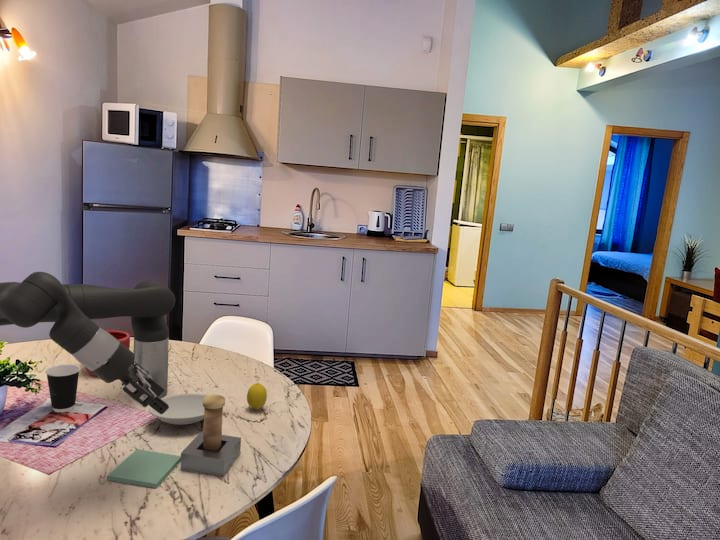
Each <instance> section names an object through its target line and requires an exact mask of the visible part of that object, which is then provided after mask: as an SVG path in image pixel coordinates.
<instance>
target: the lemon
mask: <svg viewBox="0 0 720 540" xmlns="http://www.w3.org/2000/svg"><path fill="white" fill-rule="evenodd" d="M267 392H268V391H267V388H266V387H265V386H264V385H263V384H261V383H259V382H256V383H254V384H252V385H251V386H250V387H249V388H248V390H247V394H246V401H247V403H248V405H249V407H250V408H253V409H254V410H258V409H261V408H262V407H263V406H265V404H266V402H267V399H268V394H267Z"/></svg>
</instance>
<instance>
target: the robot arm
mask: <svg viewBox="0 0 720 540" xmlns="http://www.w3.org/2000/svg"><path fill="white" fill-rule="evenodd" d="M175 304H176V296H175V294H174V292H173V291H172V290H171V289H170V288H169V287H168V286H165V285H164V284H162V283H159V282H157V281H154V280H143V281H140V282H138V283H137V284H136V285H135V287H134V288H131V289H130V288H126V289H123V288H115V287H108V286H101V285H95V284H87V283H86V284H85V283H83V284H82V283H78V284H77V283H74V284H73V283H72V284H71V283H70V284H62V283H61V281H60V280H59V279H58V278H57V277H55V276H54V275H52V274H51V273H48V272H45V271H35V272H32V273H31V274H29V275H28V276H27V277H25V278H24V279H23V280H22V281H21V282H18V281H7V282H0V327H1V326H10V325H11V326H12V325H15V326H17V327H19V328H25V329H27V328H31V327H34V326H36V325H37V324H39V323H53V325H52V327H51V329H50V331H49V334H48V335H49V336H48V337H49V338H50V339H51V340H52V341H53V342H54V343H56V344H57V345H58V346H59V347H60V348H62V349H63V350H65V351H66V352H67V353H69V354H70V355H71V356H72V357H74V359H75V360H76V361H78V363H79V364H81V365H82V366H83V367H84V368H85V369H86V368H87V369H89V370H90V371H91V372H93V373H94V374H95V375H97V376H96V377H98V378H99V379H100V380H101V381H103V382H105V383H107V384H111V383H114V382H115V381H118V380H119V381H120V382H121V385H122V390H123V392H125V393H126V394H128V395H129V396H130V397H131V398H132V399H133V400H135V402H137V403H139V404H140V405H141V406H142V407H143V408H147V407H149V406H151V407H152V408H153V409H154V410H156V411H157V412H158V413H160V414H163V413H164V412H165V411H166V410H167V409H168V408H169V406H168V404H167V403H165V402H164V401H163V400H162V399H161V398H164V397H166V396H167V395H168V387H169V386H168V385H169V384H168V383H169V382H168V381H169V379H168V378H169V346H170V345H169V339H170V335H169V334H170V330H169V326H168V325H167V323H166V321H165V317H164V316H166V315H168V314H169V313H170V312H171V311H172V310H173V308H175ZM119 317H120V318H121V317H130V321H131V322H130V324H131V329H132V331H133V351H132V350H131V349H130V348H129V349H128V348H127V347H126V346H124V345H123V344H122V343H121V342H120V341H118V340H117V339H116V338H115V337H113V336H112V335H111V334H110V333H108V332H107V331H108V330H106V329H103V328H102V327H100V326H99V325H97V323H96V322H95V321H94V320H100V319H102V320H103V319H110V318H119Z"/></svg>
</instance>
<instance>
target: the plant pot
mask: <svg viewBox="0 0 720 540" xmlns="http://www.w3.org/2000/svg"><path fill="white" fill-rule="evenodd" d="M106 331H107V332H108V333H110V334H111V335H112V336H113V337H115V338H116V339H117V340H118V341H120V342H121V343H122V344H123V345H124V346H126V347H127V348H128V349H129V350H130V345H131V335H130V334H129V332H125V331H121V330H106ZM85 369H86V372H87V373H89V375H92V376H95V377H98V376H97V375H95V374H94V373H93V372H91V371H90V370H89V369H87V368H86V367H85Z"/></svg>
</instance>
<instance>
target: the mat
mask: <svg viewBox="0 0 720 540" xmlns="http://www.w3.org/2000/svg"><path fill="white" fill-rule="evenodd" d="M179 464H181V455H176V454H170V453H163V452H157V451H150V450H143V449H138V448H136V449H135V450H134V451H133V452H131V454H129V455H128V456H127V457H126V458H125V459H124V460H123V461H122V462H121V463H119V464H118V465H117V466H116V467H115V468H113V470H112V471H110V472H109V473H108V474H107V475H106V480H107V481H111V482H116V483H117V482H118V483H121V484H128V485H132V486H133V485H135V486H138V487H139V486H140V487H146V488H153V489H158V487H159V486H160V485H161V484H162V483H163V482H164V481H165V479H167V477H168V476H169V475H170V474H171V473H172V472H173V471H174V469H176V467H177V466H178V465H179Z"/></svg>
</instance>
